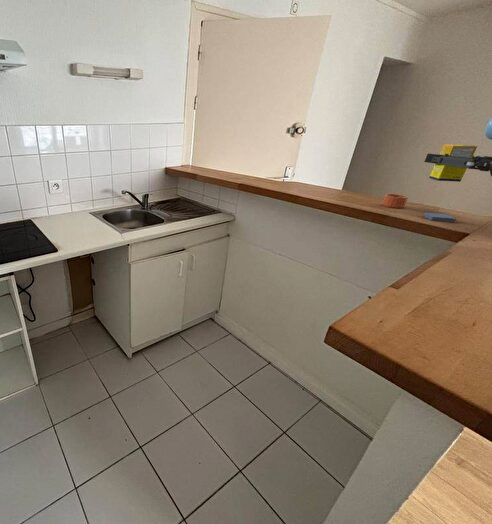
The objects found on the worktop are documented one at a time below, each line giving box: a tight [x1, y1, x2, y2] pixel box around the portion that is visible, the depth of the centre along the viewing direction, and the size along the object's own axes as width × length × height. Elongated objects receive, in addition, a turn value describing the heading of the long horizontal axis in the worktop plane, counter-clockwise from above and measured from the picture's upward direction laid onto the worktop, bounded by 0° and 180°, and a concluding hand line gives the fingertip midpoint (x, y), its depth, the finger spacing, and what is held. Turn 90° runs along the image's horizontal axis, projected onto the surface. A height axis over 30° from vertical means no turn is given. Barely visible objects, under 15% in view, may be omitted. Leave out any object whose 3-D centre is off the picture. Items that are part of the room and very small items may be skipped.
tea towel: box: [423, 212, 457, 223], centre depth 93 cm, size 6×5×1 cm
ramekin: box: [381, 193, 409, 209], centre depth 106 cm, size 7×7×4 cm
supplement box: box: [428, 143, 478, 183], centre depth 91 cm, size 6×6×11 cm
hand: (438, 157), depth 95 cm, fingers closed on supplement box, 7 cm apart
